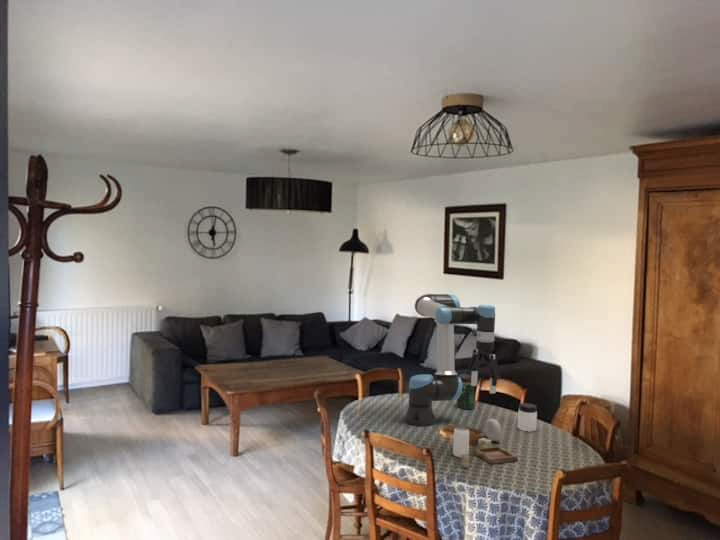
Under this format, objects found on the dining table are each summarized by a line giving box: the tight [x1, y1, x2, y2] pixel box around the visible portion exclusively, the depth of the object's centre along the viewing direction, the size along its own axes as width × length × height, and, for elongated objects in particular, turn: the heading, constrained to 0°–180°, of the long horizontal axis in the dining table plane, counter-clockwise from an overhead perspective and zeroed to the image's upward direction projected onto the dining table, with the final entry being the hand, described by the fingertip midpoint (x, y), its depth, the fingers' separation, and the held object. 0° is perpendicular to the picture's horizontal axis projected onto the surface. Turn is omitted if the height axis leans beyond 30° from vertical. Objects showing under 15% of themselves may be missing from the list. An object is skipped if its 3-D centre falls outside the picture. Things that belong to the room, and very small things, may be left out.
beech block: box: [477, 437, 492, 449], centre depth 249 cm, size 4×4×4 cm
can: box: [452, 424, 470, 458], centre depth 239 cm, size 6×6×12 cm
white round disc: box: [484, 418, 502, 442], centre depth 260 cm, size 10×3×10 cm, turn 26°
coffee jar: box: [456, 373, 476, 410], centre depth 314 cm, size 10×8×19 cm
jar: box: [517, 402, 538, 433], centre depth 279 cm, size 9×8×12 cm
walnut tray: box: [473, 445, 519, 466], centre depth 238 cm, size 13×13×2 cm
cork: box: [460, 453, 470, 469], centre depth 227 cm, size 3×3×4 cm
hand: (483, 389), depth 245 cm, fingers open, 13 cm apart
